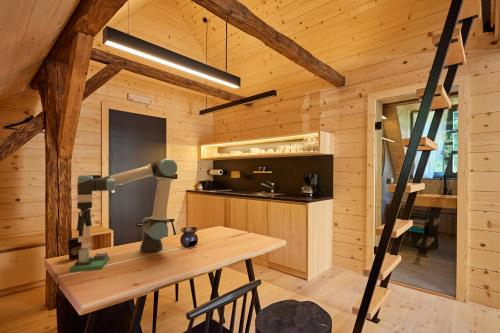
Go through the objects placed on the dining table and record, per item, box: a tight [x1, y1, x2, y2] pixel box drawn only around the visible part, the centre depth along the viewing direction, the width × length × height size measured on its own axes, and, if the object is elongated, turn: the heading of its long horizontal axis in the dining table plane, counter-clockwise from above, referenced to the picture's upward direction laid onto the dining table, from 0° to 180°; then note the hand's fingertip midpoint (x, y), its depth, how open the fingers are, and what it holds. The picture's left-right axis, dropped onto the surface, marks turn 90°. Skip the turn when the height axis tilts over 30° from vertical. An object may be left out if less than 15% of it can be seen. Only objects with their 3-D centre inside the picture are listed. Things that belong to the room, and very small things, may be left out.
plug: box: [78, 247, 90, 263], centre depth 156 cm, size 4×4×8 cm
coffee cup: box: [66, 236, 83, 261], centre depth 170 cm, size 9×8×13 cm
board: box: [69, 252, 110, 273], centre depth 159 cm, size 16×18×5 cm
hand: (84, 239), depth 156 cm, fingers open, 10 cm apart
